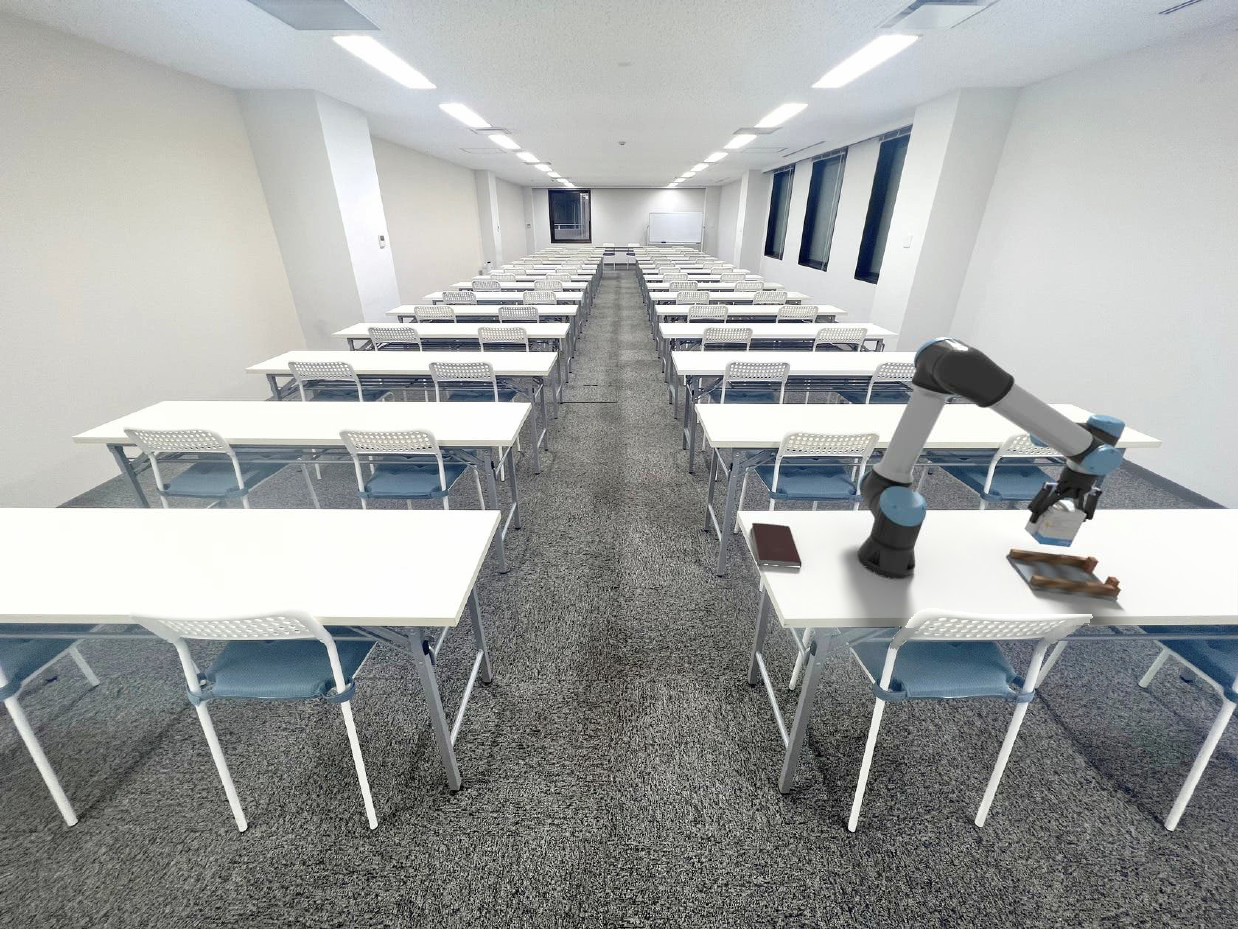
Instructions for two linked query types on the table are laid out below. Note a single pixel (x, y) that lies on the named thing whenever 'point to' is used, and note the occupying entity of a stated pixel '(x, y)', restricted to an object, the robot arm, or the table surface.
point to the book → (774, 545)
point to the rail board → (1062, 574)
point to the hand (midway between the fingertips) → (1048, 534)
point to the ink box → (1058, 524)
